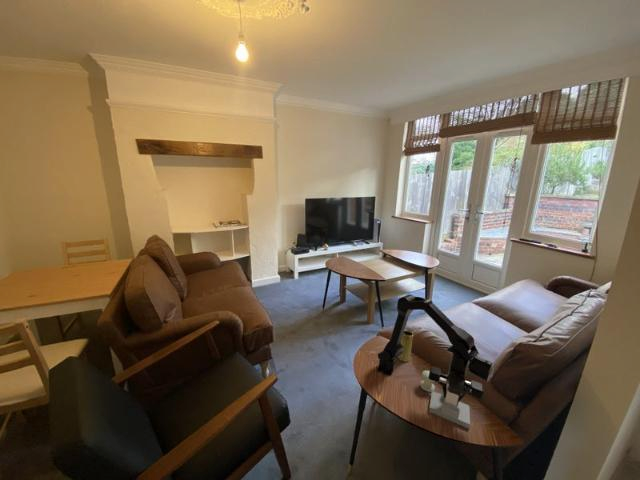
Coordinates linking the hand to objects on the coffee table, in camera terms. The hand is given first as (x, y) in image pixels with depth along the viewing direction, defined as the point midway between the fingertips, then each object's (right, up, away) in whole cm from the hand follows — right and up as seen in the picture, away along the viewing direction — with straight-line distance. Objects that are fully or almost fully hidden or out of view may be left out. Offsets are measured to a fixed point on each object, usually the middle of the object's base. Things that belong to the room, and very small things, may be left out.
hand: (450, 399), depth 104 cm
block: (0, -1, 0) cm, 1 cm away
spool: (-4, -2, +13) cm, 14 cm away
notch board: (0, -5, +1) cm, 5 cm away
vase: (-9, +2, +32) cm, 33 cm away
